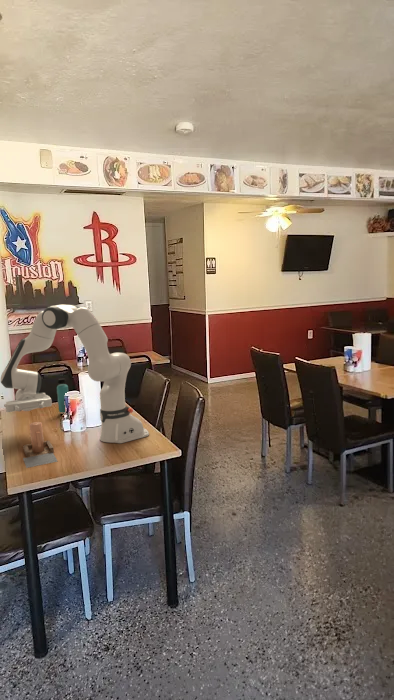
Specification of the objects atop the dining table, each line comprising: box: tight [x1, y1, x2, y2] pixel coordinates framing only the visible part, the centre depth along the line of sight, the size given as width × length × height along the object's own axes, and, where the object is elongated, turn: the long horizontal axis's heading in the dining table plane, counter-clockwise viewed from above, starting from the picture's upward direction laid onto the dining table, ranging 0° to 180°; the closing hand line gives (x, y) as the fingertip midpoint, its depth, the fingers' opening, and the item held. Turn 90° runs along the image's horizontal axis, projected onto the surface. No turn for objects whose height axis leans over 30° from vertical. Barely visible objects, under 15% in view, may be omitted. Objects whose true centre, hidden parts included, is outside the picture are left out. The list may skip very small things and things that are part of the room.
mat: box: [22, 452, 58, 469], centre depth 189 cm, size 12×12×1 cm
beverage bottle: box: [56, 378, 70, 413], centre depth 259 cm, size 6×7×20 cm
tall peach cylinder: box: [29, 421, 45, 453], centre depth 198 cm, size 5×8×12 cm, turn 27°
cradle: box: [22, 440, 55, 458], centre depth 200 cm, size 11×11×2 cm
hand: (30, 407), depth 209 cm, fingers open, 8 cm apart
